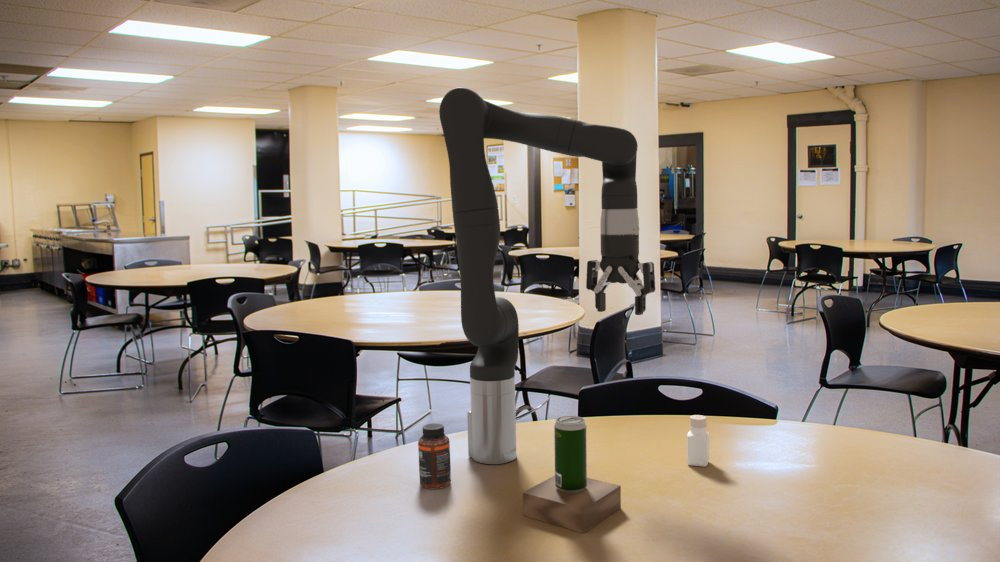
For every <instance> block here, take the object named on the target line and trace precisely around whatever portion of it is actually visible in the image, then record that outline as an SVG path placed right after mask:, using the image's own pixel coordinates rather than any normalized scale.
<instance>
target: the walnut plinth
mask: <svg viewBox="0 0 1000 562" xmlns="http://www.w3.org/2000/svg"><path fill="white" fill-rule="evenodd" d="M621 488H622V487H621V485H620V484H615V483H611V482H607V481H603V480H599V479H595V478H590V477H587V486H586V488H585V490H584V491H583V492H581V493H578V494H566V493H562V492H559V491H558V490H557V488H556V485H555V474H554V475H552V476H551V477H549V478H548V479H545V480H543V481H541V482H540V483H538V484H536V485H534V486H532V487H530V488H529V489H527V490H525V491H523V492H522V513H523V514H522V516H523V517H528V518H531V519H534V520H537V521H541V522H545V523H548V524H551V525H555V526H558V527H561V528H565V529H569V530H572V531H575V532H579V533H581V534H585V533H587V532H588V531H589V530H591V529H592V528H594V527H595V526H598V524H600V523H601V522H603V521H604V520H605V519H607V518H608V517H610V516H611V515H613V514H614V513H616V512H617V511H619V510H620V509H621V508H622V505H621V504H622V502H621V501H622V500H621V499H622V498H621V497H622V496H621V495H622V493H621V492H622V489H621Z"/></svg>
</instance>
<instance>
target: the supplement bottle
mask: <svg viewBox="0 0 1000 562" xmlns="http://www.w3.org/2000/svg"><path fill="white" fill-rule="evenodd" d="M450 442H451V441H450V438H449V437H448V436H447V435H446V434H445V426H444V425H443V424H442V423H435V422H434V423H428V424H425V425H423V426H422V436H420V438H419V439H418V442H417V447H418V449H417V451H418V468H419V471H418V472H419V473H418V474H419V485H420V486H421V487H423V488H425V489H430V490H440V489H442V488H445V487H448V486H449V485H450V484H451V482H452V472H451V469H452V468H451V466H452V465H451V448H450V447H451V446H450V444H451V443H450Z"/></svg>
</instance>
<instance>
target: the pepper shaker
mask: <svg viewBox="0 0 1000 562" xmlns="http://www.w3.org/2000/svg"><path fill="white" fill-rule="evenodd" d="M707 420H708V419H707V417H706V416H705V415H701V414H693V415H690V416H689V427H690V430H689V431H688V432H687V434H686V463H687V465H688V466H695V467H703V468H705V467H707V466H708V464H709V461H710V433H709V432H707V424H708V423H707Z"/></svg>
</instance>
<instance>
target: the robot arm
mask: <svg viewBox="0 0 1000 562" xmlns="http://www.w3.org/2000/svg"><path fill="white" fill-rule="evenodd" d="M439 120H440V124H441V129H442V132H443V138H444V142H445V147H446V152H447V158H448V164H449V166H448V167H449V181H450V182H449V185H450V197H451V209H452V219H453V227H454V235H455V241H456V250H457V251H456V252H457V259H458V267H459V279H460V320H461V326H462V327H461V328H462V330H463V333H464V335H465V338H466V339H467V341H469V342H470V344H472V345H473V346H475V347H478V348H477V351H476V355H475V357H473V359H472V361H471V362H470V364H469V386H470V387H469V388H470V389H469V390H470V391H469V392H470V410H469V411H468V412H467V414H466V416H467V418H466V419H467V422H466V423H467V448H468V449H467V451H468V452H467V453H468V455H467V456H468V457H469V458H472V460H473V461H475V462H476V463H481V464H485V465H500V464H506V463H509V462H512V461H514V460H515V459H516V458H517V417H516V415H517V414H516V381H515V380H516V376H515V375H516V374H515V373H516V372H515V368H516V366H517V362H518V359H519V337H520V336H519V331H520V330H519V329H520V328H519V316H518V312H517V310H516V308H515V306H514V305H513V303H512V302H511V301H510V300H509V299H506V298H505V297H501V296H496V292H495V291H496V290H495V284H494V283H495V282H494V272H495V270H494V268H495V264H496V263H495V262H496V258H497V254H498V250H499V246H500V239H501V224H500V223H501V220H500V213H499V206H498V205H499V204H498V199H497V195H496V191H495V187H494V186H495V185H494V184H493V179H492V177H491V173H490V170H489V167H488V164H487V159H486V153H485V139H491V140H501V141H507V142H511V143H512V142H513V143H518V144H522V145H526V146H529V147H533V148H536V149H540V150H545V151H548V152H553V153H558V154H559V155H560V154H561V155H565V156H570V157H576V158H577V157H578V158H581V157H583V158H588V159H590V160H593V161H594V160H595V161H598V162H601V168H602V169H601V170H602V185H601V194H600V195H601V196H600V197H601V213H600V214H601V215H600V224H599V225H600V255H601V260H600V261H599V260H597V259H593V260H588V261H587V264H586V281H585V282H586V285H585V286H586V287H585V288H586V289H587V290H590V291H592V292H594V295H595V296H594V297H595V298H594V301H595V302H594V305H595V309H597V310H596V311H597V312H599V313H603V312H606V306H607V304H606V301H607V300H606V298H607V296H606V292H605V291H606V290H607V289H608V287H609V285H611V284H616V283H619V284H623V285H624V284H625V285H626V284H627V285H628V287H630V288H631V290H632V291H633V292H634V293H635V295H636V296H634V314H635V315H636V316H642V315H644V312H645V311H646V310H647V309H646V308H647V307H646V305H647V304H646V303H647V301H646V299H647V298H646V296H648V294H651V293H654V292H655V291H656V280H655V279H656V277H655V276H656V275H655V263H654V262H652V261H646V262H640V260H639V254H640V219H639V211H638V187H637V182H636V181H637V180H636V177H637V154H638V141H637V139H636V136H635V135H634V134H633V133H632V132H631V131H629V130H627V129H625V128H621V127H615V126H608V125H602V124H601V125H600V124H595V123H594V124H593V123H588V122H585V121H581V120H577V119H573V118H569V117H563V116H559V115H554V114H546V113H536V112H535V113H534V112H525V111H518V110H513V109H509V108H506V107H502V106H499V105H497V104H494V103H492V102H489V101H487V100H485V99H484V98H483V97H481V96H480V95H479V94H478V93H477V92H475V91H474V90H472V89H470V88H468V87H461V86H460V87H454V88H452V89H450V90H448V92H446V93H445V95H444V96H443V97H442V99H441V101H440V104H439ZM600 270H601V271H602V275H601V277H599V271H600ZM639 271H640V273H642V277H643V279H641V278H640V276H639V274H638V272H639ZM598 277H599V278H598ZM642 280H643V281H642Z"/></svg>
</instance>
